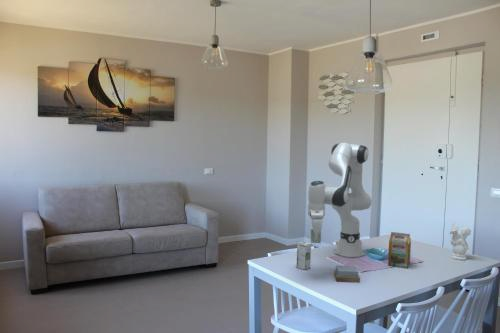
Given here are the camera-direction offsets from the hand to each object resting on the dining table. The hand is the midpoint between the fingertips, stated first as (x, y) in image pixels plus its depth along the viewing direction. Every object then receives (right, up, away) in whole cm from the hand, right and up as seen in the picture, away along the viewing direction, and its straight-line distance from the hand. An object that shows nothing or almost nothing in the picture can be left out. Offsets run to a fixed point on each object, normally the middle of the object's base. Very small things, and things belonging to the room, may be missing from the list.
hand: (315, 237), depth 235 cm
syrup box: (-5, -20, +16) cm, 26 cm away
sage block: (0, -2, 0) cm, 2 cm away
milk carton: (+52, -20, +24) cm, 61 cm away
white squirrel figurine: (+93, -19, +39) cm, 102 cm away
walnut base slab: (+16, -22, -1) cm, 27 cm away
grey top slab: (+16, -19, -1) cm, 25 cm away
